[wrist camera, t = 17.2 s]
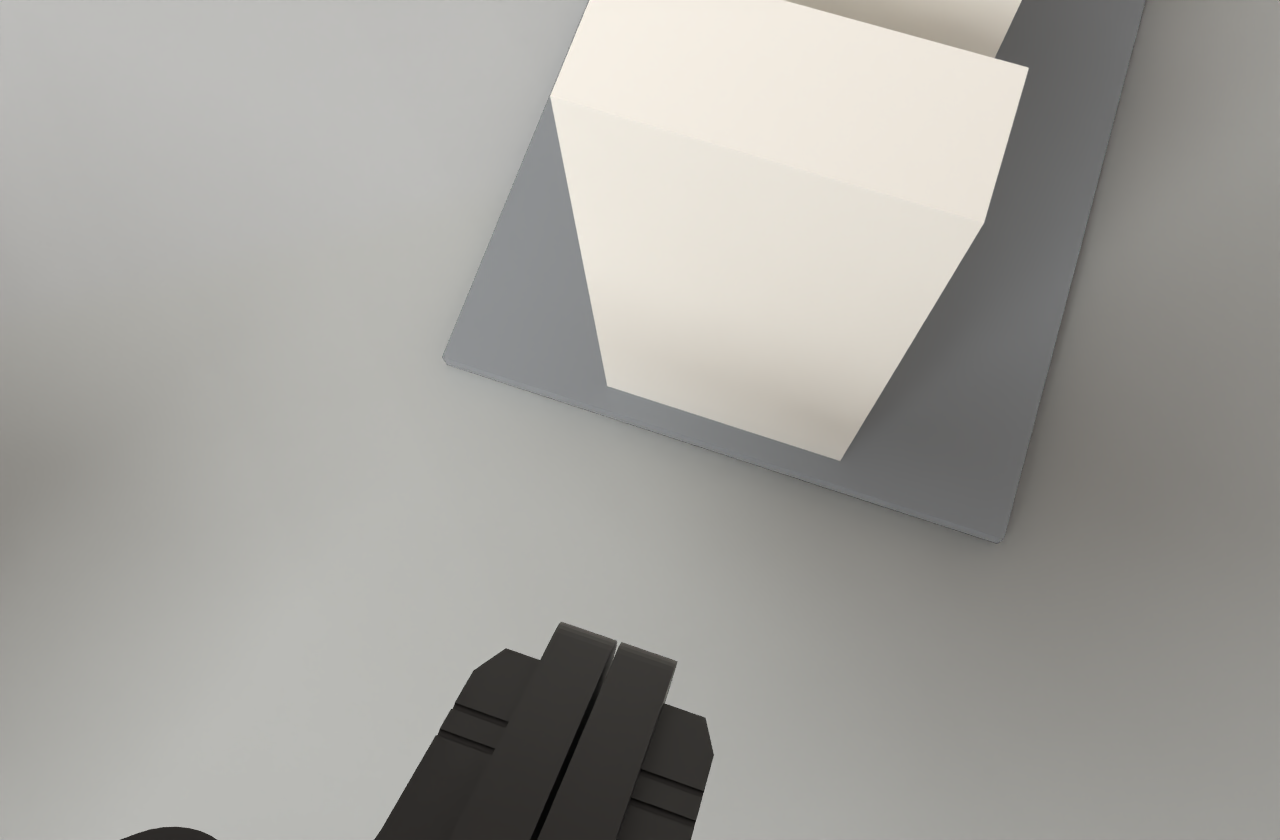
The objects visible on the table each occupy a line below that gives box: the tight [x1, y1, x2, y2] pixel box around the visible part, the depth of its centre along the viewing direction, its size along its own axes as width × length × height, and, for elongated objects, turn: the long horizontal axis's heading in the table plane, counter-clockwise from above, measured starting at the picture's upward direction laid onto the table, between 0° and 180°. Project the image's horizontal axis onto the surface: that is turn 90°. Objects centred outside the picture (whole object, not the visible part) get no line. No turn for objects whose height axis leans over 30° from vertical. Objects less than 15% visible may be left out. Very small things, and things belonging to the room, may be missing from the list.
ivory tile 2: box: [784, 0, 1022, 58], centre depth 19 cm, size 2×5×11 cm, turn 71°
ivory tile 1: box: [550, 0, 1029, 461], centre depth 18 cm, size 2×5×11 cm, turn 71°
